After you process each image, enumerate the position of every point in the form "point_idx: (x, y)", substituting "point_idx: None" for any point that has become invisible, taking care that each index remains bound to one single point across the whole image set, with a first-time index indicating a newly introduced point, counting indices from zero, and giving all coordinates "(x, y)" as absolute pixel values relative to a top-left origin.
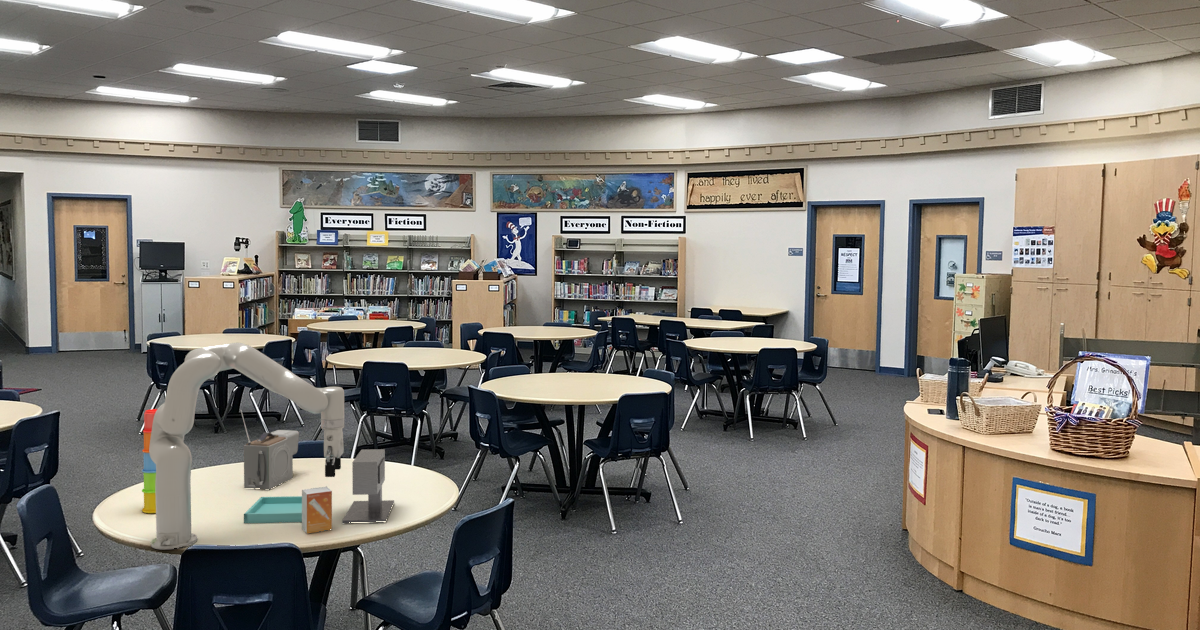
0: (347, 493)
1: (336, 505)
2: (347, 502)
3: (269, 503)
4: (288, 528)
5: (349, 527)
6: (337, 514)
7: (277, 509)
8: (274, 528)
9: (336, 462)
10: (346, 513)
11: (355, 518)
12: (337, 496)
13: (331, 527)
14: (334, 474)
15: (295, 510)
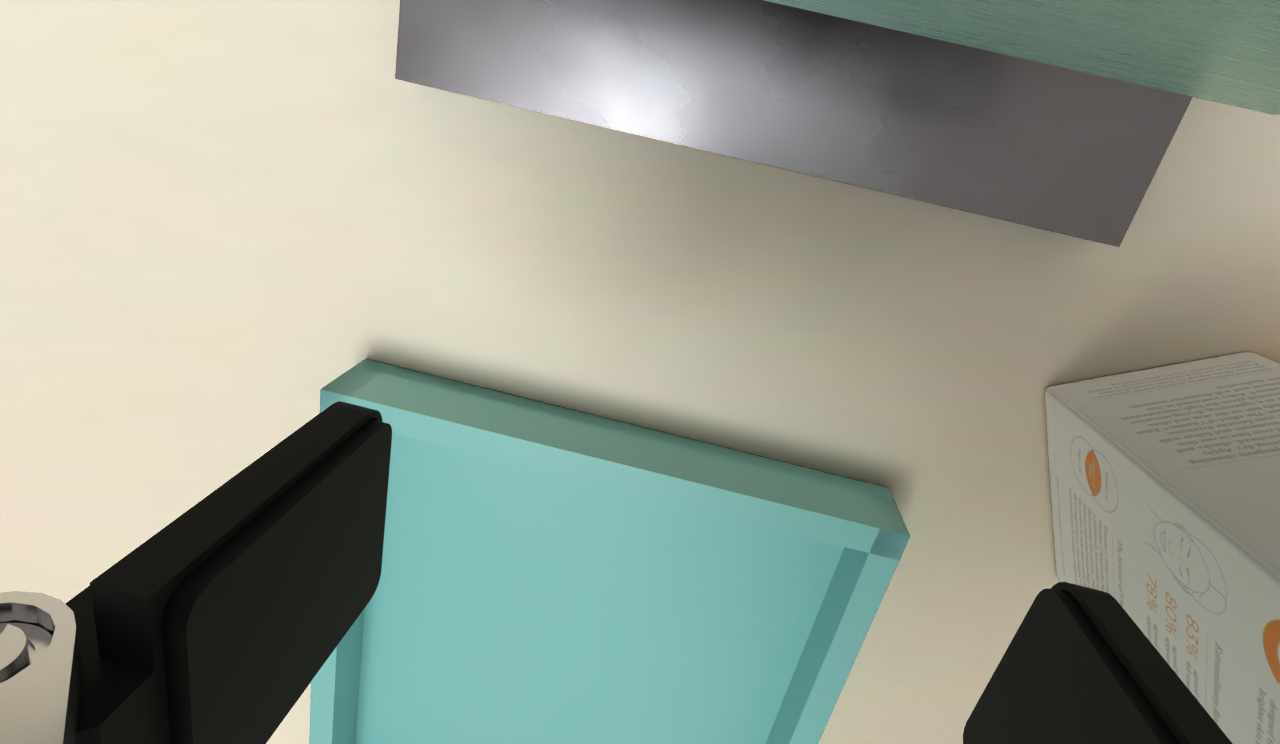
0: (18, 135)
1: (422, 264)
2: (333, 149)
3: (355, 737)
4: (986, 657)
5: (1264, 168)
6: (730, 269)
7: (513, 704)
8: (937, 733)
9: (285, 606)
10: (865, 187)
11: (1118, 89)
12: (124, 240)
13: (1271, 362)
14: (1127, 631)
15: (572, 602)
